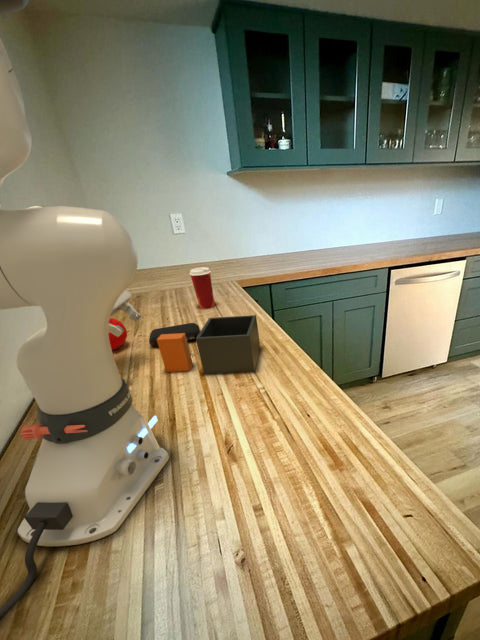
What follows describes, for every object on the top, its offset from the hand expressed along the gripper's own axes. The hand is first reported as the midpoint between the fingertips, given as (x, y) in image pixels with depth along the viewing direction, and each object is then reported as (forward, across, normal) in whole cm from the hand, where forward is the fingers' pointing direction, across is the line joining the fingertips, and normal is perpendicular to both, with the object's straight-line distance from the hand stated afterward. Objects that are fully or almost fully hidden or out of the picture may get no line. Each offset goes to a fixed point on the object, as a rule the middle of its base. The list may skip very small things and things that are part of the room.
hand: (130, 325), depth 80 cm
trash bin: (+24, +3, -7) cm, 26 cm away
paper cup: (+12, +50, +6) cm, 52 cm away
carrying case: (+10, +19, +7) cm, 23 cm away
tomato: (-2, +15, +20) cm, 25 cm away
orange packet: (+15, 0, +2) cm, 15 cm away
